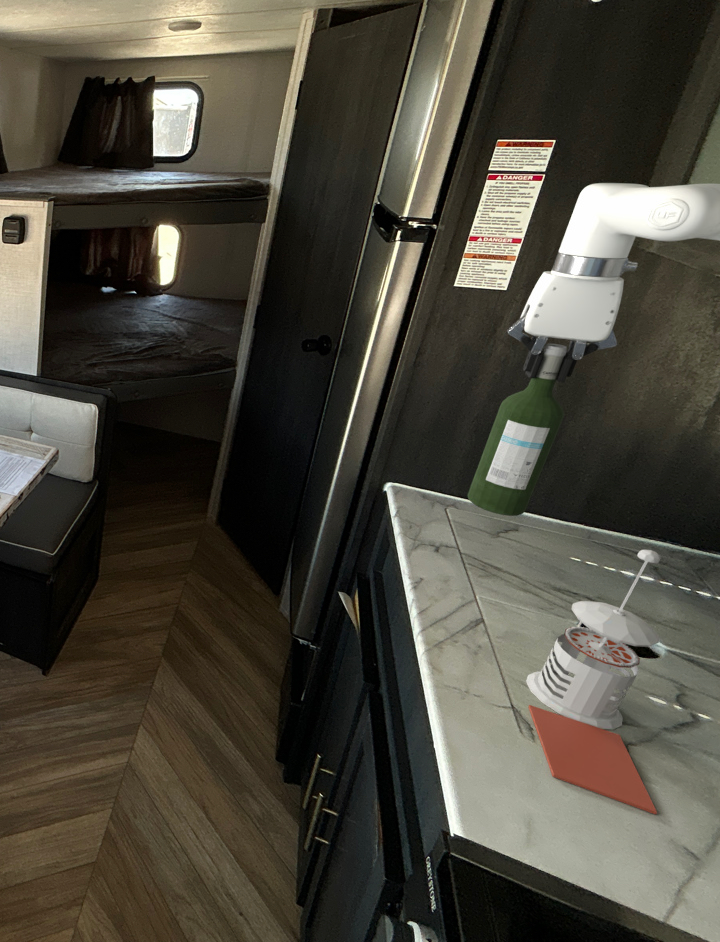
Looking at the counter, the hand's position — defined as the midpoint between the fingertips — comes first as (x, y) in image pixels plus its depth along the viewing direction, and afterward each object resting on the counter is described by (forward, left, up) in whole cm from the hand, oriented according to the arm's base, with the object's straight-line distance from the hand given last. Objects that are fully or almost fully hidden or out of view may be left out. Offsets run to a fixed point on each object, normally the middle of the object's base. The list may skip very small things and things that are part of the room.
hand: (544, 376), depth 104 cm
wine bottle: (0, 0, -25) cm, 25 cm away
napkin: (-5, +45, -36) cm, 58 cm away
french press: (-6, +33, -36) cm, 49 cm away
